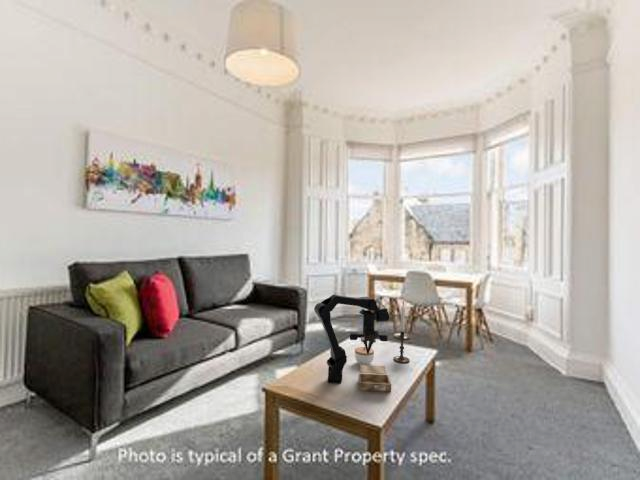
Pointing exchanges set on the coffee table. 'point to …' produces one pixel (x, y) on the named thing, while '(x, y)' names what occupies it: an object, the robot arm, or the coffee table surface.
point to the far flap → (372, 369)
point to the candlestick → (402, 337)
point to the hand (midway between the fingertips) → (367, 353)
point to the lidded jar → (364, 356)
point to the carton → (374, 379)
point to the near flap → (376, 383)
